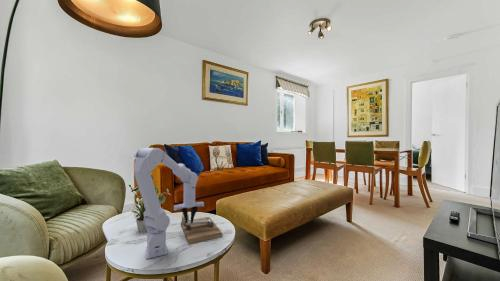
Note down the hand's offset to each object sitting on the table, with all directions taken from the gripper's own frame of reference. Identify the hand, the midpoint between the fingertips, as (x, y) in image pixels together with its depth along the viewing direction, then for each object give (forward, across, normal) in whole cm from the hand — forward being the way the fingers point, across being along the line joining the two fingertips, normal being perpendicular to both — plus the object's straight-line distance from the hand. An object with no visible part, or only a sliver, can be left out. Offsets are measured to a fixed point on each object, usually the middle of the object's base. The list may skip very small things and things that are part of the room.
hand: (189, 222), depth 101 cm
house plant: (+6, +20, -12) cm, 24 cm away
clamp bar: (+2, -5, 0) cm, 5 cm away
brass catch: (0, 0, -8) cm, 8 cm away
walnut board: (+5, -6, 0) cm, 8 cm away
